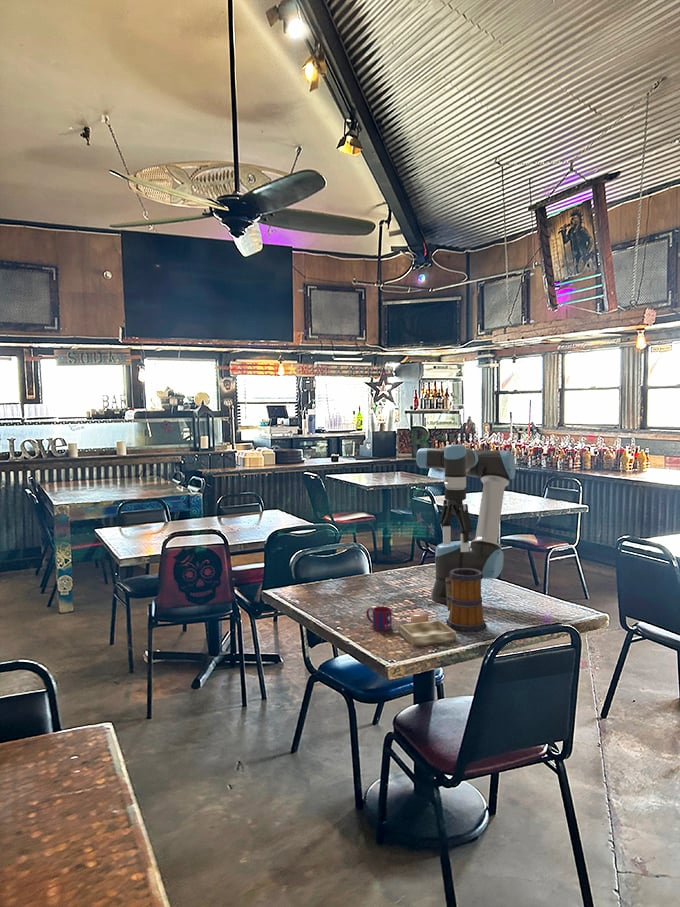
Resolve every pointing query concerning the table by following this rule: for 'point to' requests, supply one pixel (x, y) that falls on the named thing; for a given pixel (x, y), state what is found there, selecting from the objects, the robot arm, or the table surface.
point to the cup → (381, 618)
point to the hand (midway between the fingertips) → (455, 547)
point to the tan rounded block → (419, 617)
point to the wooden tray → (427, 633)
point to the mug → (465, 601)
